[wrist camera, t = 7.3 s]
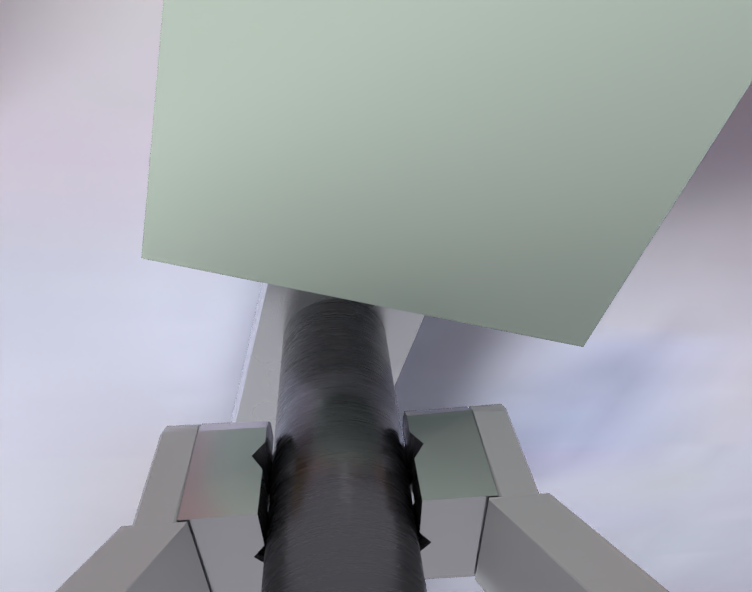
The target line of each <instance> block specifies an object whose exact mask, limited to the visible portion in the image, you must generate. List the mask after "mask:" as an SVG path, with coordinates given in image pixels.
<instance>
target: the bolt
mask: <svg viewBox="0 0 752 592" xmlns="http://www.w3.org/2000/svg"><path fill="white" fill-rule="evenodd" d="M424 316H425V315H422V314H417V313H412V312H407V311H402V310H397V309H392V308H387V307H382V306H377V305H372V304H367V303H362V302H357V301H352V300H347V299H342V298H337V297H332V296H327V295H322V294H317V293H312V292H307V291H302V290H297V289H292V288H287V287H282V286H277V285H272V284H267V283H262V285H261V289H260V294H259V298H258V303H257V307H256V312H255V316H254V320H253V325H252V329H251V334H250V338H249V343H248V347H247V352H246V356H245V360H244V365H243V369H242V374H241V378H240V383H239V387H238V392H237V396H236V400H235V405H234V409H233V414H232V418H231V423H236V422H259V421H269V422H270V423H271V427H272V432H273V437H274V440H273V453H272V454H273V460H272V472H271V483H270V495H269V506H268V518H267V530H266V541H265V553H264V564H263V576H262V587H261V592H427V590H426V583H425V577H424V571H423V565H422V558H421V552H420V546H419V539H418V533H417V527H416V520H415V514H414V508H413V502H412V495H411V489H410V483H409V476H408V470H407V464H406V457H405V451H404V445H403V439H402V432H401V426H400V420H399V413H398V407H397V401H396V394H395V388H394V386H395V384H396V382H397V379H398V377H399V375H400V372H401V370H402V367H403V365H404V363H405V360H406V358H407V356H408V353H409V351H410V349H411V346H412V344H413V342H414V339H415V337H416V335H417V332H418V330H419V327H420V325H421V323H422V320H423V318H424Z"/></svg>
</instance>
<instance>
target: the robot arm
mask: <svg viewBox="0 0 752 592" xmlns="http://www.w3.org/2000/svg"><path fill="white" fill-rule="evenodd" d="M403 434H404V440H405V446H404V451H405V457H406V464H407V470H408V476H409V483H410V489H411V495H412V502H413V508H414V514H415V520H416V527H417V533H418V539H419V546H420V552H421V558H422V565H423V571H424V577H425V579H433V578H450V577H466V576H475V580H476V581H477V582H478V584H479V585H480V586H481V587H482V588H483V590H484V591H485V592H669V591H668V590H667V589H665V588H664V587H663V586H662V585H661V584H659V583H658V582H657V581H656V580H654V579H653V578H652V577H651V576H650V575H648V574H647V573H646V572H645V571H643V570H642V569H641V568H640V567H639V566H637V565H636V564H635V563H634V562H633V561H631V560H630V559H629V558H628V557H626V556H625V555H624V554H623V553H622V552H620V551H619V550H618V549H617V548H615V547H614V546H613V545H612V544H611V543H609V542H608V541H607V540H606V539H605V538H603V537H602V536H601V535H600V534H598V533H597V532H596V531H595V530H594V529H592V528H591V527H590V526H589V525H587V524H586V523H585V522H584V521H583V520H581V519H580V518H579V517H578V516H577V515H575V514H574V513H573V512H572V511H570V510H569V509H568V508H567V507H566V506H564V505H563V504H562V503H561V502H559V501H558V500H557V499H556V498H555V497H553V496H552V495H551V494H550V493H546V494H539V492H538V489H537V487H536V484H535V482H534V479H533V477H532V474H531V471H530V469H529V466H528V464H527V461H526V459H525V456H524V453H523V451H522V448H521V446H520V443H519V441H518V438H517V435H516V433H515V430H514V428H513V425H512V423H511V420H510V417H509V415H508V412H507V410H506V408H505V407H504V406H503V405H502V404H495V405H482V406H469V408H468V407H467V406H466V407H454V408H441V409H428V410H415V411H404V416H403ZM273 440H274V437H273V432H272V427H271V423H270V422H269V421H259V422H236V423H212V424H202V425H179V426H167V427H166V428H165V430H164V431H163V432H162V434H161V435H160V438H159V441H158V445H157V448H156V451H155V454H154V458H153V461H152V464H151V467H150V470H149V474H148V477H147V480H146V483H145V487H144V490H143V493H142V496H141V500H140V503H139V506H138V509H137V513H136V516H135V519H134V522H133V525H132V526H123V527H120V528H119V529H118V530H117V531H116V532H115V533H114V534H113V535H112V536H111V537H110V538H109V539H108V540H107V541H106V542H105V543H104V544H103V545H102V546H101V547H100V548H99V549H98V550H97V551H96V552H95V553H94V554H93V555H92V556H91V557H90V558H89V559H88V560H87V561H86V562H85V563H84V564H83V565H82V566H81V567H80V568H79V569H78V570H77V571H76V572H75V573H74V574H73V575H72V576H71V577H70V578H69V579H68V580H67V581H66V582H65V583H64V584H63V585H62V586H61V587H60V588H59V589H58V590H56V591H55V592H261V587H262V576H263V564H264V553H265V541H266V530H267V518H268V506H269V495H270V483H271V472H272V460H273V454H272V453H273Z"/></svg>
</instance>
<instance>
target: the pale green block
mask: <svg viewBox="0 0 752 592" xmlns="http://www.w3.org/2000/svg"><path fill="white" fill-rule="evenodd" d="M751 82H752V0H163V11H162V23H161V35H160V46H159V58H158V70H157V82H156V93H155V105H154V117H153V128H152V140H151V152H150V163H149V175H148V187H147V198H146V210H145V222H144V233H143V245H142V257H141V258H143V259H148V260H153V261H158V262H163V263H168V264H173V265H178V266H183V267H188V268H193V269H198V270H203V271H207V272H212V273H217V274H222V275H227V276H232V277H237V278H242V279H247V280H252V281H257V282H262V283H267V284H272V285H277V286H282V287H287V288H292V289H297V290H302V291H307V292H312V293H317V294H322V295H327V296H332V297H337V298H342V299H347V300H352V301H357V302H362V303H367V304H372V305H377V306H382V307H387V308H392V309H397V310H402V311H407V312H412V313H417V314H422V315H426V316H431V317H436V318H441V319H446V320H451V321H456V322H461V323H466V324H471V325H476V326H481V327H486V328H491V329H496V330H501V331H506V332H511V333H516V334H521V335H526V336H531V337H536V338H541V339H546V340H551V341H556V342H561V343H566V344H571V345H576V346H581V347H583V346H584V345H585V343H586V342H587V340H588V339H589V337H590V335H591V334H592V332H593V331H594V329H595V328H596V326H597V324H598V323H599V321H600V320H601V318H602V317H603V315H604V313H605V312H606V310H607V309H608V307H609V305H610V304H611V302H612V301H613V299H614V298H615V296H616V294H617V293H618V291H619V290H620V288H621V287H622V285H623V283H624V282H625V280H626V279H627V277H628V276H629V274H630V272H631V271H632V269H633V268H634V266H635V265H636V263H637V261H638V260H639V258H640V257H641V255H642V254H643V252H644V250H645V249H646V247H647V246H648V244H649V243H650V241H651V239H652V238H653V236H654V235H655V233H656V232H657V230H658V228H659V227H660V225H661V224H662V222H663V221H664V219H665V217H666V216H667V214H668V213H669V211H670V210H671V208H672V206H673V205H674V203H675V202H676V200H677V199H678V197H679V195H680V194H681V192H682V191H683V189H684V188H685V186H686V184H687V183H688V181H689V180H690V178H691V177H692V175H693V173H694V172H695V170H696V169H697V167H698V166H699V164H700V162H701V161H702V159H703V158H704V156H705V155H706V153H707V151H708V150H709V148H710V147H711V145H712V144H713V142H714V140H715V139H716V137H717V136H718V134H719V132H720V131H721V129H722V128H723V126H724V125H725V123H726V121H727V120H728V118H729V117H730V115H731V114H732V112H733V110H734V109H735V107H736V106H737V104H738V103H739V101H740V99H741V98H742V96H743V95H744V93H745V92H746V90H747V88H748V87H749V85H750V84H751Z"/></svg>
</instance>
